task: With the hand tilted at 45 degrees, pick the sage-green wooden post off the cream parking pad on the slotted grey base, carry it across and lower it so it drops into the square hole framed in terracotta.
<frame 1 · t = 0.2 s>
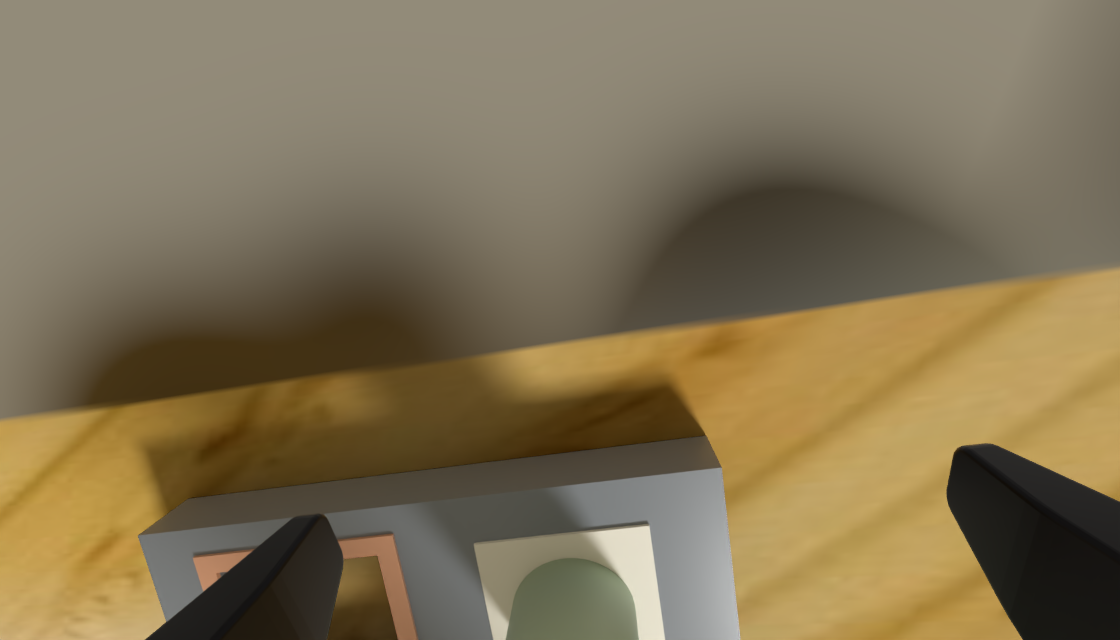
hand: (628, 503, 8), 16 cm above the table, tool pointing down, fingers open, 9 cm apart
slotted grey base: (467, 613, 27), on the table
post: (573, 613, 23), point 3 cm above the table, touching slotted grey base
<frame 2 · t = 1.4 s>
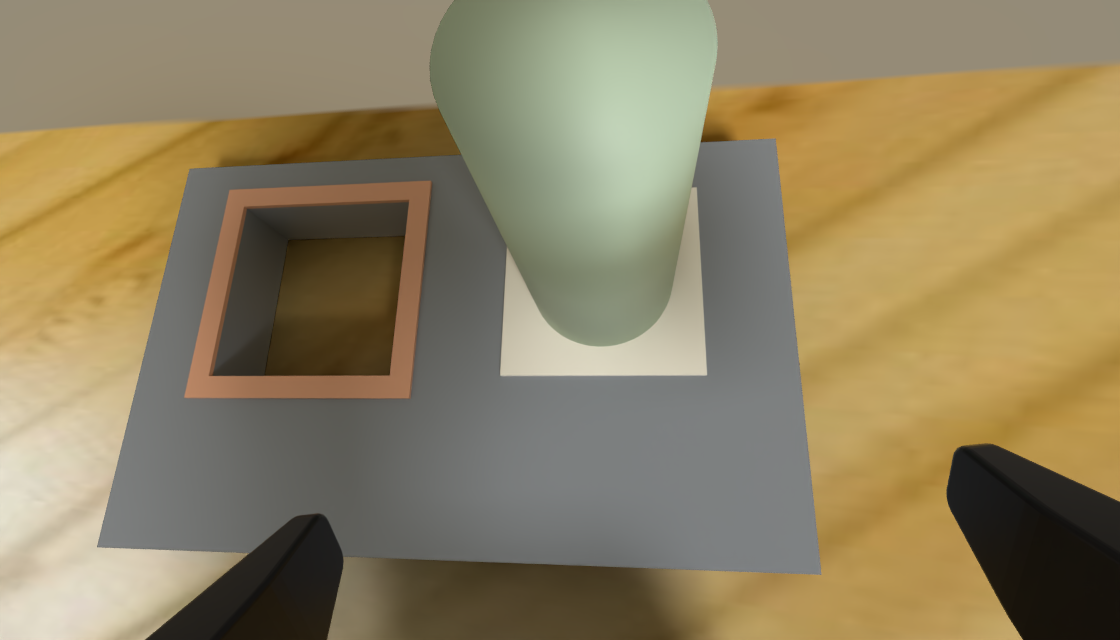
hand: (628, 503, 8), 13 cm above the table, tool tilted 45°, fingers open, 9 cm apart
slotted grey base: (471, 355, 23), on the table
post: (601, 278, 20), point 3 cm above the table, touching slotted grey base
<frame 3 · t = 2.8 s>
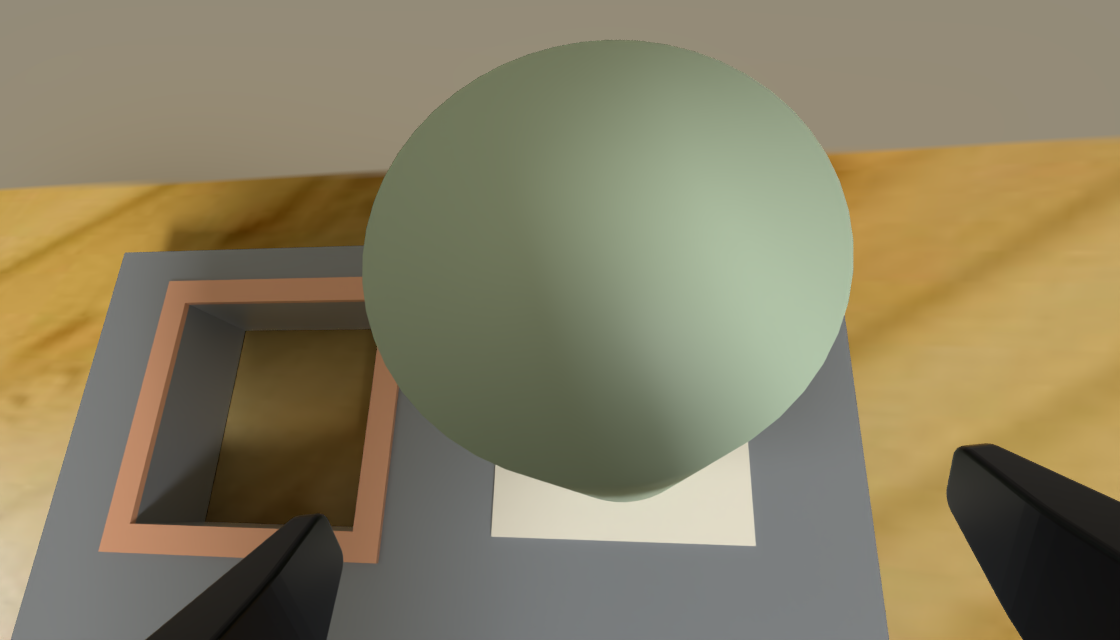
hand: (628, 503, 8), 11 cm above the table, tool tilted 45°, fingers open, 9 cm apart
slotted grey base: (458, 483, 19), on the table
post: (619, 410, 16), point 3 cm above the table, touching slotted grey base
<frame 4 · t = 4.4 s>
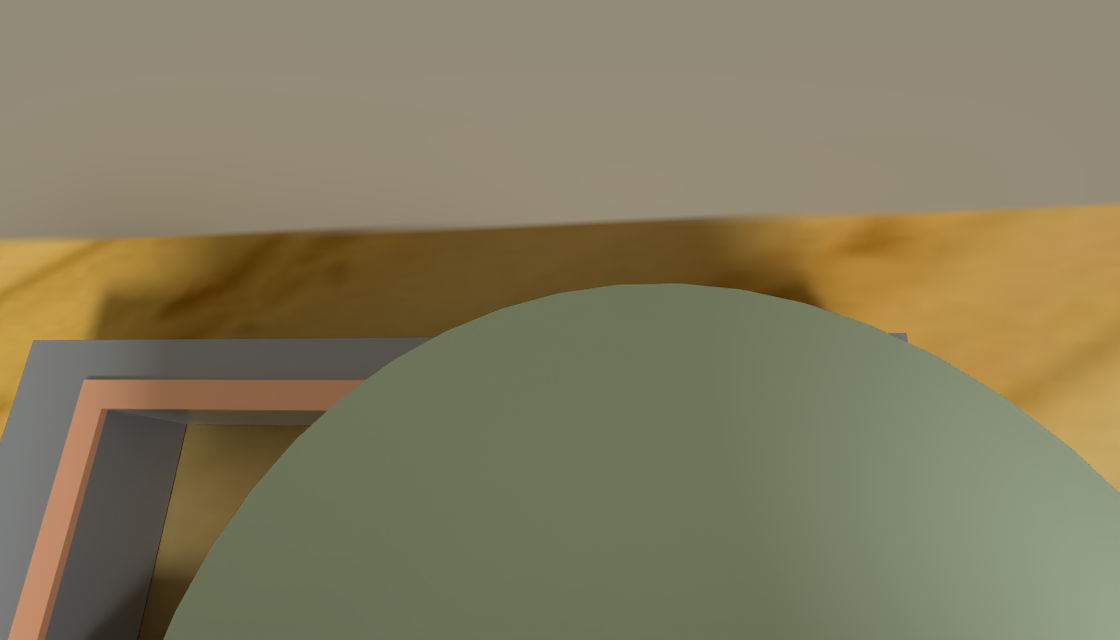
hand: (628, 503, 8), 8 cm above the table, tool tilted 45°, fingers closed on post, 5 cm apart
slotted grey base: (437, 628, 16), on the table
post: (638, 570, 13), point 3 cm above the table, touching gripper, slotted grey base
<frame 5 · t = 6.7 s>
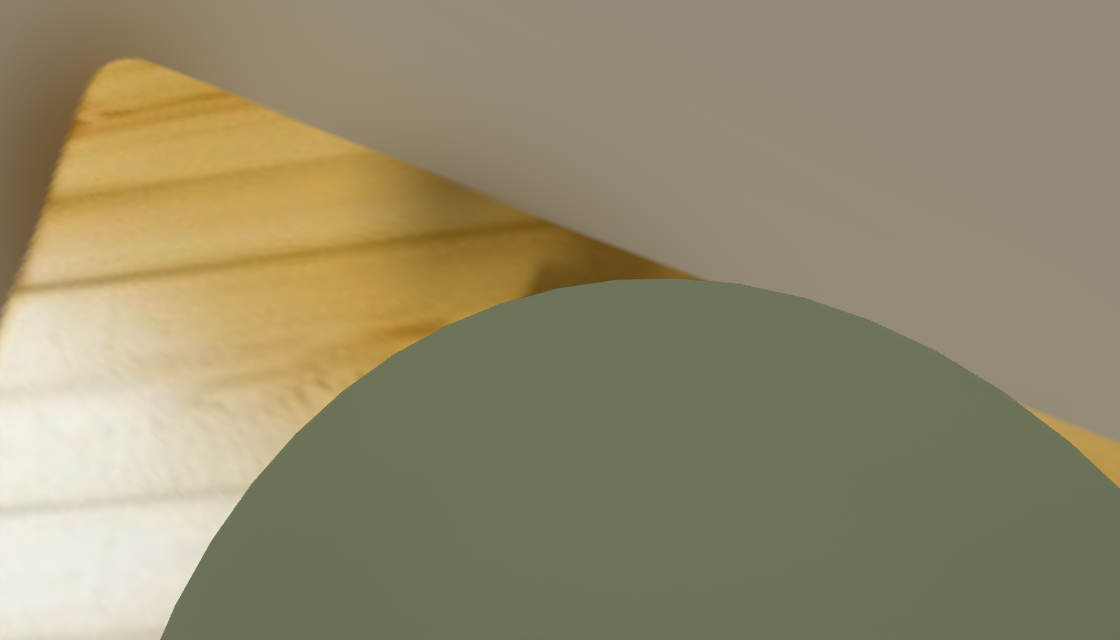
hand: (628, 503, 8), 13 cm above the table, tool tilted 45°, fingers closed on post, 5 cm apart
post: (638, 569, 13), point 8 cm above the table, touching gripper
when the fingers open (7 cm above the table, at t = 9.1 s): post drops 2 cm, resting in slotted grey base.
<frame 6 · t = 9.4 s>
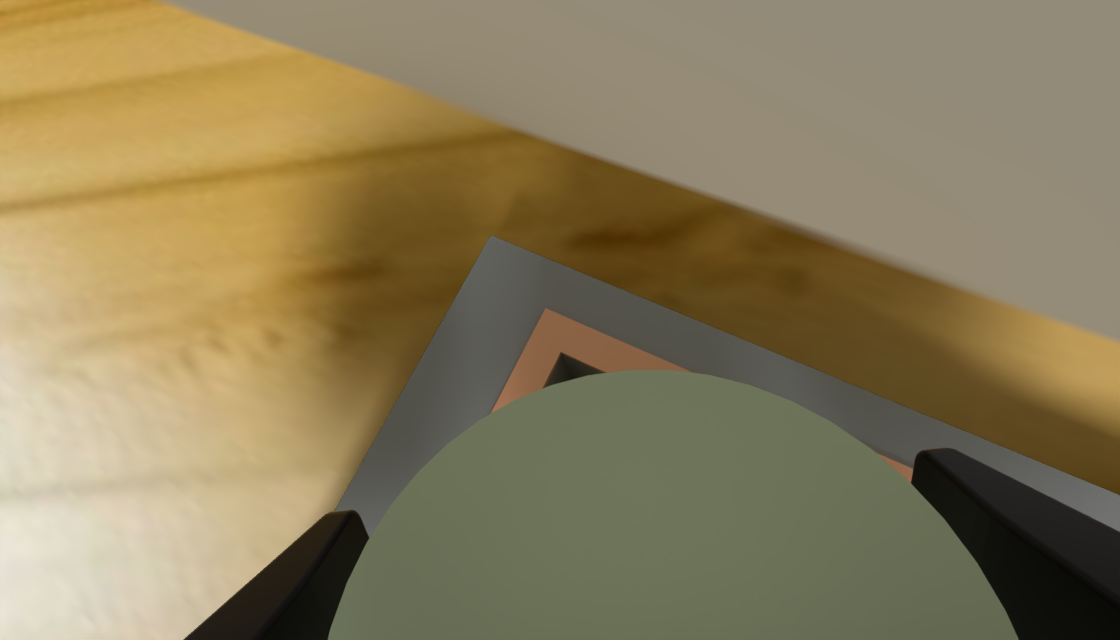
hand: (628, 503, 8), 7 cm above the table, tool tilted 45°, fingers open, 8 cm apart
post: (638, 565, 14), resting in slotted grey base
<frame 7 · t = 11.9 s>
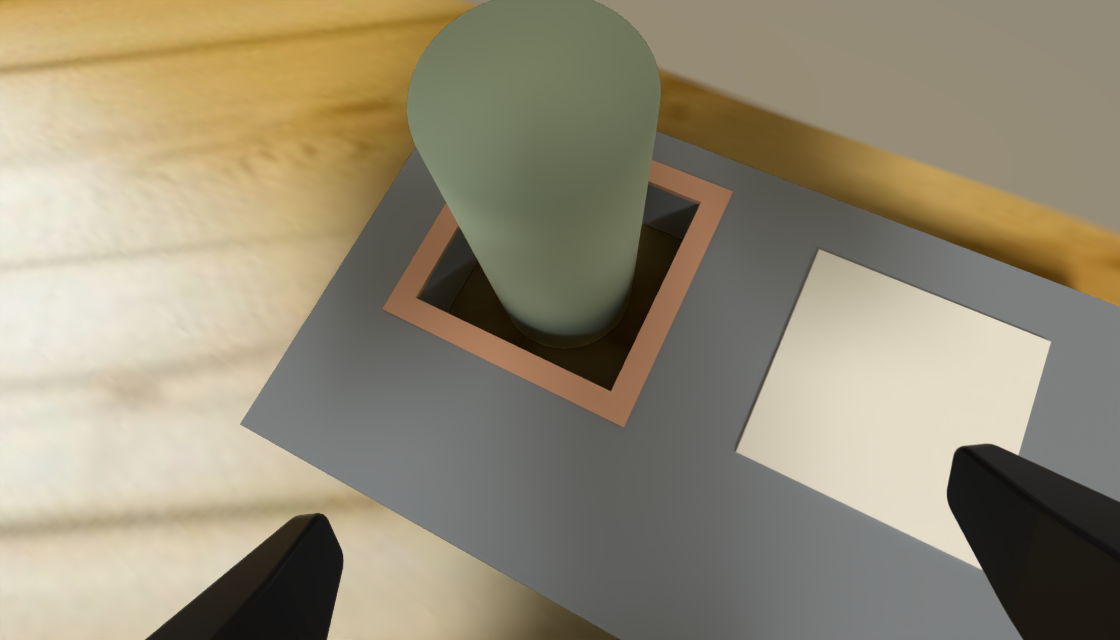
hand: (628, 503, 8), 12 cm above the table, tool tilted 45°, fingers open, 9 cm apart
slotted grey base: (678, 392, 20), on the table
post: (565, 284, 22), resting in slotted grey base
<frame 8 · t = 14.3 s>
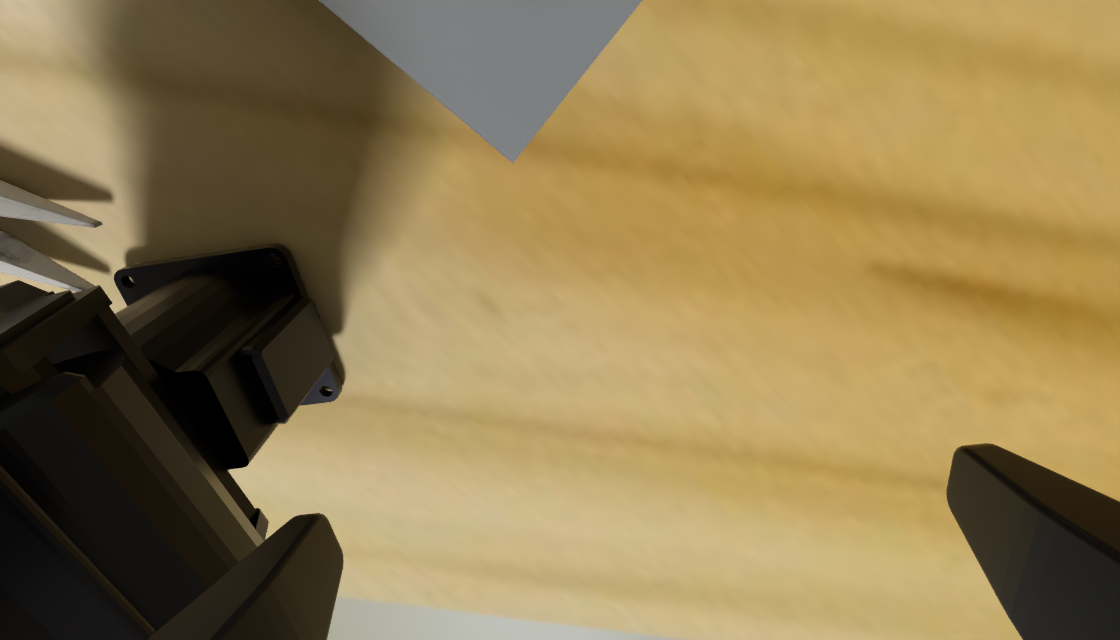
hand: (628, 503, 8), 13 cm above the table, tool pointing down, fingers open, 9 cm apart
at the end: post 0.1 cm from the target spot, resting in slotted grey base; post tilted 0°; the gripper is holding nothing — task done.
